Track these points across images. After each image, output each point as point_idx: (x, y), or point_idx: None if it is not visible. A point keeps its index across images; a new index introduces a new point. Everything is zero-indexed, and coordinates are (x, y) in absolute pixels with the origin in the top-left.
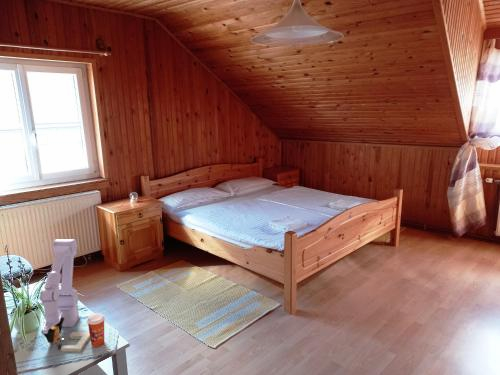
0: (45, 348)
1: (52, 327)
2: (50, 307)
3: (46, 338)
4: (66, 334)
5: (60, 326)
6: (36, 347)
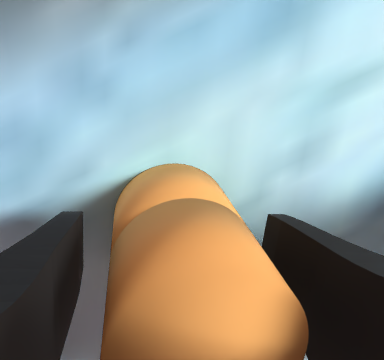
0: (10, 175)
1: (256, 317)
2: None
3: (19, 243)
4: None
5: (313, 355)
6: (20, 35)
